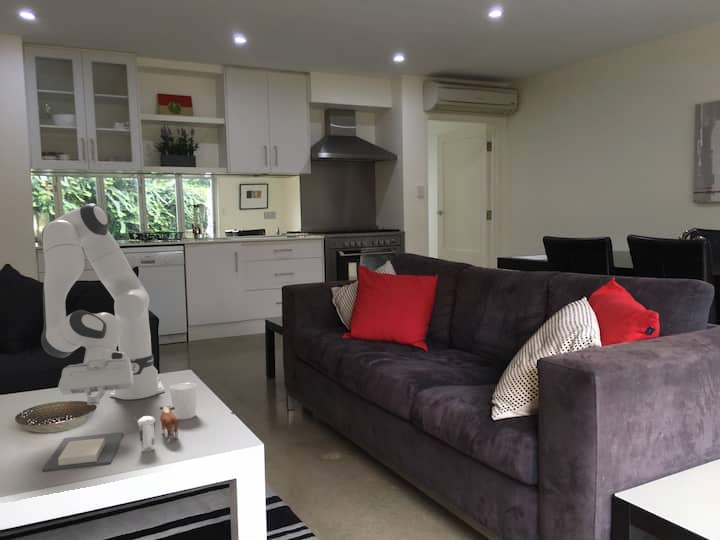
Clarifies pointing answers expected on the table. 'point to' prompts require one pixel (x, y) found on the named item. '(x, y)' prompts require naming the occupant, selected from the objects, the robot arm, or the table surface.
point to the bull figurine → (169, 421)
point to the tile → (81, 451)
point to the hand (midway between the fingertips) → (92, 403)
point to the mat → (104, 458)
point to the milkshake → (146, 432)
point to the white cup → (184, 400)
